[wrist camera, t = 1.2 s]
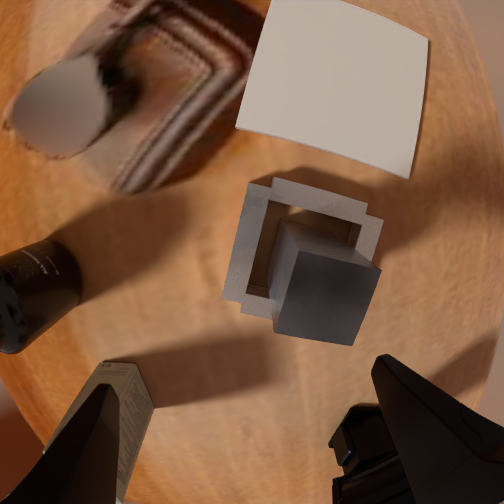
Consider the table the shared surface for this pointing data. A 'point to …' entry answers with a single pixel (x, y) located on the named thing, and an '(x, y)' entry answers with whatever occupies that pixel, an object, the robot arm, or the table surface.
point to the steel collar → (250, 227)
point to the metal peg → (318, 284)
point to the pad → (338, 83)
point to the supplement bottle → (35, 292)
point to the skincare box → (131, 414)
